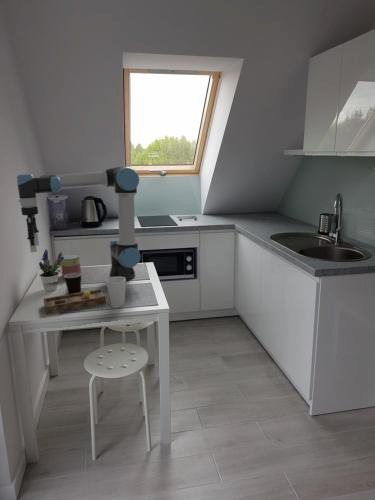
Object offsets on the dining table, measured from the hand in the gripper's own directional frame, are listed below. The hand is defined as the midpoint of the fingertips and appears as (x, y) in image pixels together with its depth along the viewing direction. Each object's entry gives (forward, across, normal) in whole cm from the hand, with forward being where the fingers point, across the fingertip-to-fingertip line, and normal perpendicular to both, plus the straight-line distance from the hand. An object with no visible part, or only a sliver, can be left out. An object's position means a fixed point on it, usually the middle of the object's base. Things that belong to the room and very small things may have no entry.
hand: (35, 248), depth 194 cm
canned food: (+27, -35, +15) cm, 47 cm away
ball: (+23, +13, +22) cm, 35 cm away
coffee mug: (+27, -4, +17) cm, 32 cm away
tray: (+27, +14, +16) cm, 35 cm away
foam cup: (+27, +22, +37) cm, 51 cm away
